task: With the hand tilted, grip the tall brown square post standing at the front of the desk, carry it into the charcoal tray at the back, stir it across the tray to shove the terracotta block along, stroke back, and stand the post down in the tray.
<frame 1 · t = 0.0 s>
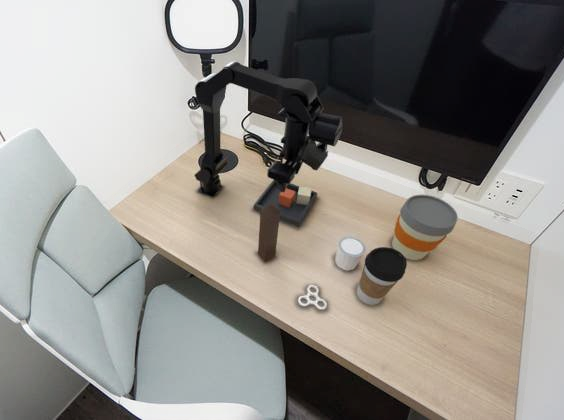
hand: (289, 182, 89), 15 cm above the table, tool pointing down, fingers open, 9 cm apart
reusable coffee cup: (408, 247, 90), on the table
shot glass: (345, 262, 87), on the table
coffee cup: (368, 294, 80), on the table
brown square post: (266, 255, 89), on the table
fidget spinner: (312, 297, 80), on the table
cream block: (303, 200, 104), point 1 cm above the table, touching tray
terracotta block: (286, 202, 104), point 1 cm above the table, touching tray
tray: (285, 204, 104), on the table
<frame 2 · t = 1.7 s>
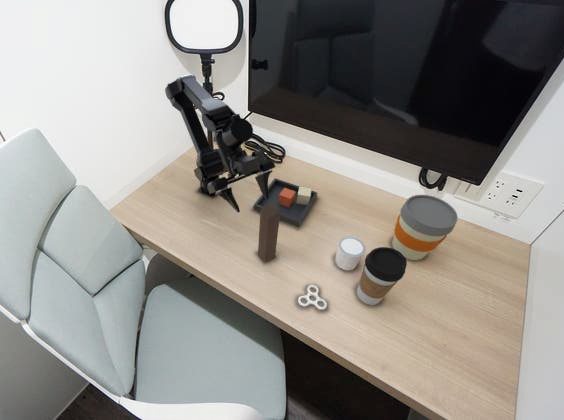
hand: (253, 205, 85), 13 cm above the table, tool tilted 45°, fingers open, 9 cm apart
nothing on the table moved.
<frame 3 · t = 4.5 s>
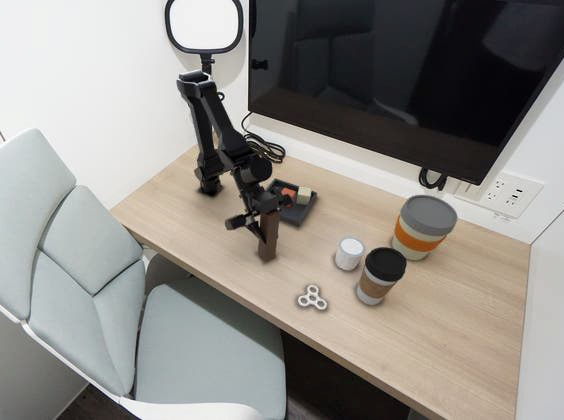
hand: (271, 241, 83), 8 cm above the table, tool tilted 45°, fingers closed on brown square post, 3 cm apart
brown square post: (266, 255, 89), on the table, touching gripper
everything else where it was.
when the fingers open (8 cm above the table, at t = 12.9 s): brown square post stays where it is, resting on tray.
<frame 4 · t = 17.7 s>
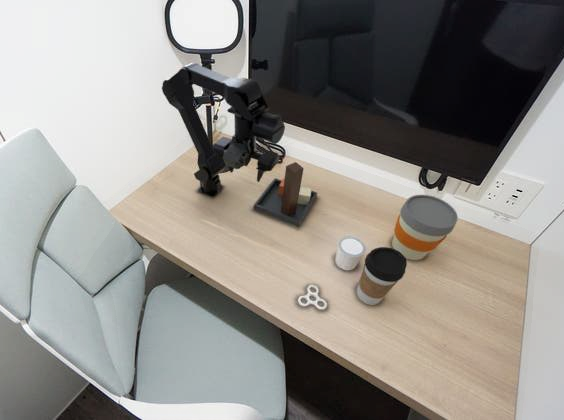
hand: (245, 176, 94), 13 cm above the table, tool pointing down, fingers open, 9 cm apart
brown square post: (288, 212, 100), point 1 cm above the table, touching tray
terracotta block: (285, 192, 107), point 1 cm above the table, touching tray
everything else where it was.
at the end: terracotta block moved 4.8 cm from its start; terracotta block inside the target area in the tray (5.2 cm from its centre), point 0.6 cm above the tray's base; brown square post tilted 0° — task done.
